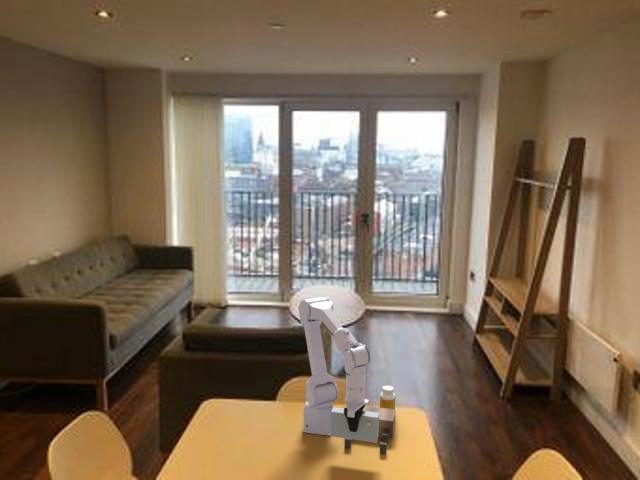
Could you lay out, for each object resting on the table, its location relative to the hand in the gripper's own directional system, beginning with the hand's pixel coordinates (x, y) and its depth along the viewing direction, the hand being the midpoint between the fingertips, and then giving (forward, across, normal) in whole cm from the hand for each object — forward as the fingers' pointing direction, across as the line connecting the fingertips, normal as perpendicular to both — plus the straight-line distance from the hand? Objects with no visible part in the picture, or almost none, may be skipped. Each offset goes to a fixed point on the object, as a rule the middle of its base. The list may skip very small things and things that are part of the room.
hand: (354, 428), depth 165 cm
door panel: (+3, 0, 0) cm, 3 cm away
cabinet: (+9, +13, -3) cm, 16 cm away
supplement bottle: (+10, +30, -7) cm, 32 cm away
